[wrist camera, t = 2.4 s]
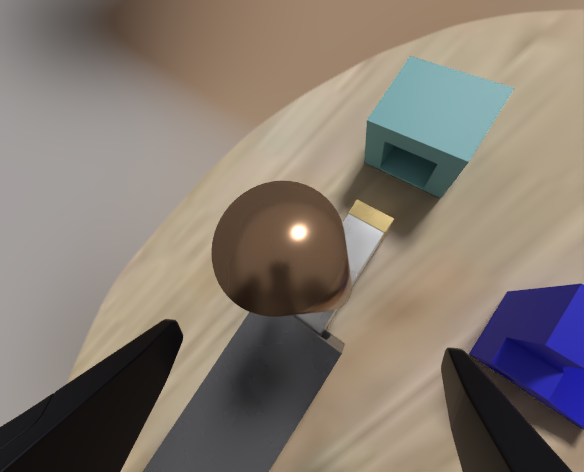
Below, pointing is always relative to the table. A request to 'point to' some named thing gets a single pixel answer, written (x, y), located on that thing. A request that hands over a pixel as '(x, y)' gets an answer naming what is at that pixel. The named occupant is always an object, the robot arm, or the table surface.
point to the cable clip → (540, 346)
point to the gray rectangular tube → (250, 398)
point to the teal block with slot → (431, 124)
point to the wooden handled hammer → (293, 251)
